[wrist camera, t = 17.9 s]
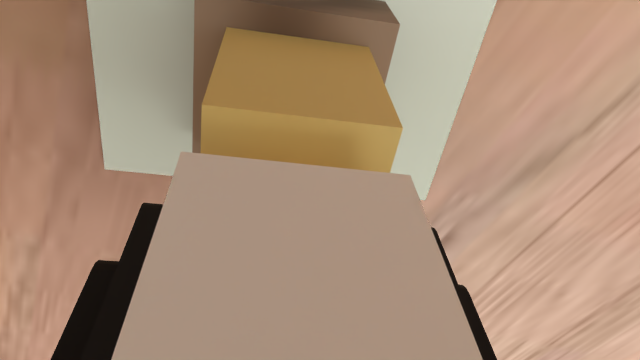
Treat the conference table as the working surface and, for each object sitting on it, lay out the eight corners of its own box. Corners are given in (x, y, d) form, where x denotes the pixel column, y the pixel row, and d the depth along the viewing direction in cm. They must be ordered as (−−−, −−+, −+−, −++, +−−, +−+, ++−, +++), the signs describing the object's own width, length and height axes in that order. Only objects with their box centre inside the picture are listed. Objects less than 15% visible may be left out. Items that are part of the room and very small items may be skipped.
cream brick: (410, 174, 11) (519, 453, 6) (362, 320, 13) (409, 593, 9) (181, 151, 10) (81, 445, 5) (180, 310, 13) (117, 600, 8)
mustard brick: (368, 46, 17) (402, 127, 12) (342, 163, 20) (362, 268, 15) (226, 27, 16) (201, 104, 11) (220, 151, 19) (198, 256, 14)
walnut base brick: (385, 1, 19) (400, 24, 17) (350, 150, 23) (358, 186, 20) (206, -27, 18) (194, -7, 16) (202, 134, 22) (192, 170, 20)
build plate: (507, -51, 19) (514, -48, 18) (422, 193, 25) (425, 200, 25) (79, -127, 17) (72, -127, 16) (108, 162, 23) (104, 169, 23)
